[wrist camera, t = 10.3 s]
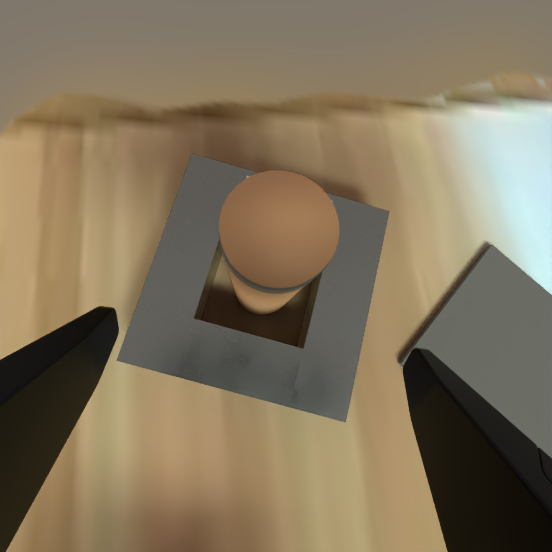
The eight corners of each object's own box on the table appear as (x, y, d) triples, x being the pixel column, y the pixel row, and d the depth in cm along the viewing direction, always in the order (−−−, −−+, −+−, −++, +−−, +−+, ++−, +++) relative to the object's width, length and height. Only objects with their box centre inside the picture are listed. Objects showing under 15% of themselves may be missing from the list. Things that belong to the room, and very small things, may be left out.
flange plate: (332, 411, 22) (346, 423, 19) (134, 357, 22) (115, 360, 18) (372, 226, 25) (390, 210, 22) (198, 175, 24) (191, 151, 21)
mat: (529, 480, 22) (535, 484, 22) (398, 362, 23) (401, 363, 23) (608, 349, 25) (616, 350, 24) (487, 246, 25) (492, 244, 25)
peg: (298, 304, 23) (359, 263, 11) (244, 323, 23) (240, 304, 10) (279, 252, 24) (314, 155, 11) (226, 270, 23) (201, 187, 11)
